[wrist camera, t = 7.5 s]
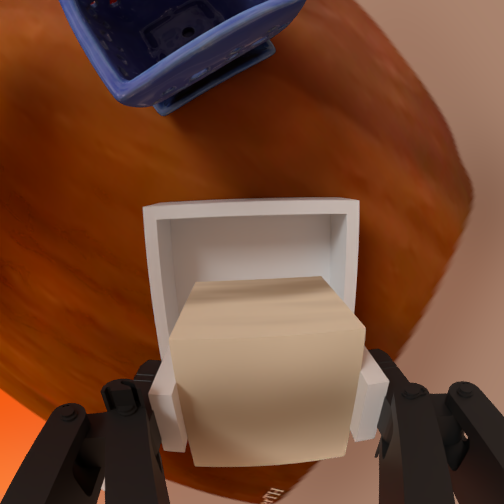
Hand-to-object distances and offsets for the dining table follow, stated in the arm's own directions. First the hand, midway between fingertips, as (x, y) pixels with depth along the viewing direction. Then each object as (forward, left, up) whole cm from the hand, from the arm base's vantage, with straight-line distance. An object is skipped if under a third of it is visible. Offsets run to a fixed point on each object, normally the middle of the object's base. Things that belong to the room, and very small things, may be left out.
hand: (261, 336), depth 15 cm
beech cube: (0, 0, 0) cm, 0 cm away
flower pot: (-5, +21, -14) cm, 26 cm away
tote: (0, -5, -13) cm, 14 cm away
